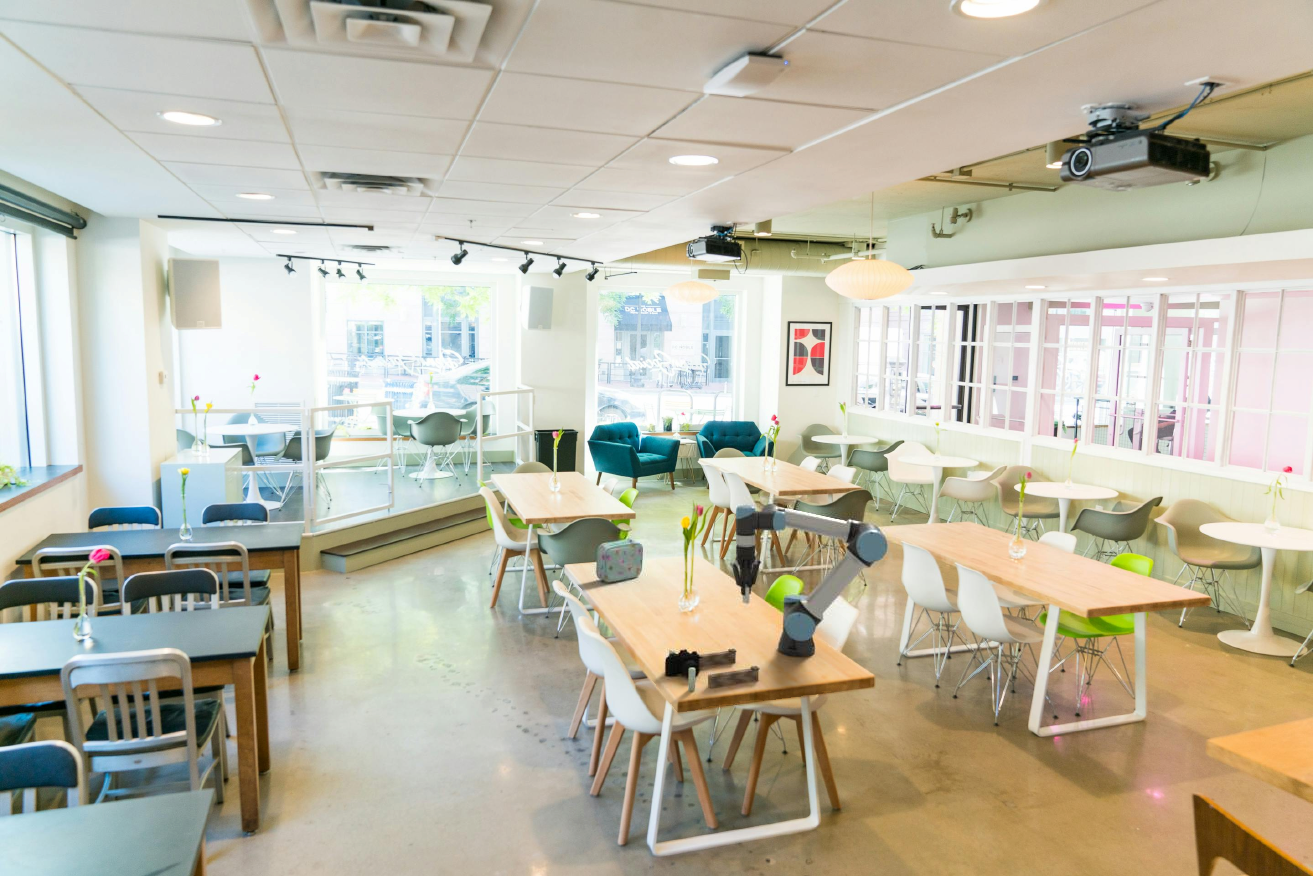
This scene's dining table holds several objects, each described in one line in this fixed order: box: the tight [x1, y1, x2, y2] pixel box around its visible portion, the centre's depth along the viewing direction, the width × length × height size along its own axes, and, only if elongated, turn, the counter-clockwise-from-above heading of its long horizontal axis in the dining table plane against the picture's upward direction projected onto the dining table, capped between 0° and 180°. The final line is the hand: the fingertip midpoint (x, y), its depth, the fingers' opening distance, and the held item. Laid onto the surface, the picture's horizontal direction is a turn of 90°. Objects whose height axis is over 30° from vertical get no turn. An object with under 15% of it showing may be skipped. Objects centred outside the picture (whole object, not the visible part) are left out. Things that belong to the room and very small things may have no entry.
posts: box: [668, 649, 696, 692], centre depth 310 cm, size 2×21×8 cm, turn 22°
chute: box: [699, 648, 760, 689], centre depth 317 cm, size 20×21×5 cm
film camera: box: [664, 648, 702, 679], centre depth 315 cm, size 15×10×9 cm, turn 115°
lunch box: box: [595, 538, 644, 584], centre depth 443 cm, size 27×10×21 cm, turn 130°
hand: (745, 602), depth 329 cm, fingers closed
